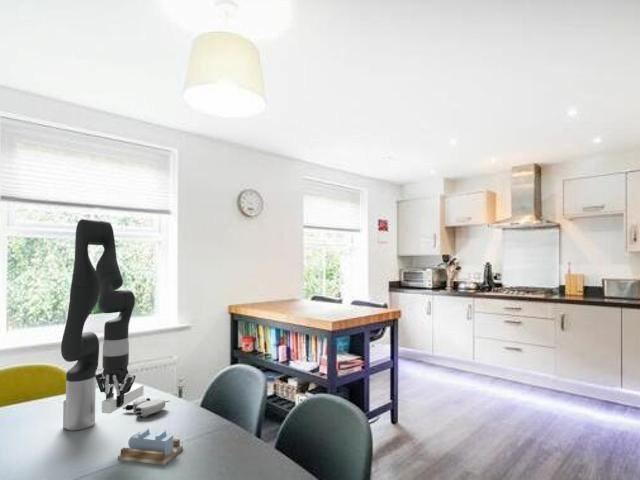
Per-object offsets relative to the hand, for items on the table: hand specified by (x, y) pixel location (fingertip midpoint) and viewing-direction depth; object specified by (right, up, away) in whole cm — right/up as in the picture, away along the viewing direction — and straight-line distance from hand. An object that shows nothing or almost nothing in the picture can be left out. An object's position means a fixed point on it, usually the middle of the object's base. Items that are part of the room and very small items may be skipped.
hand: (114, 405), depth 126 cm
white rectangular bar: (+1, -1, +4) cm, 4 cm away
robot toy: (-2, -15, +27) cm, 31 cm away
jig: (+14, -13, -5) cm, 20 cm away
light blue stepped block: (+14, -12, -5) cm, 19 cm away
